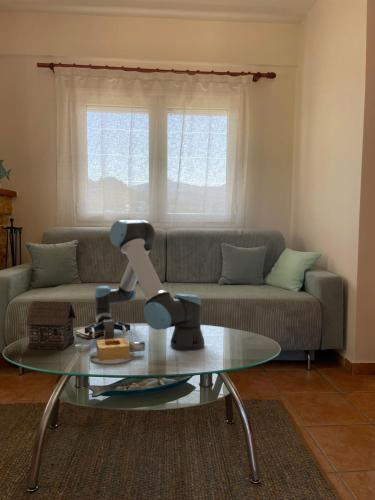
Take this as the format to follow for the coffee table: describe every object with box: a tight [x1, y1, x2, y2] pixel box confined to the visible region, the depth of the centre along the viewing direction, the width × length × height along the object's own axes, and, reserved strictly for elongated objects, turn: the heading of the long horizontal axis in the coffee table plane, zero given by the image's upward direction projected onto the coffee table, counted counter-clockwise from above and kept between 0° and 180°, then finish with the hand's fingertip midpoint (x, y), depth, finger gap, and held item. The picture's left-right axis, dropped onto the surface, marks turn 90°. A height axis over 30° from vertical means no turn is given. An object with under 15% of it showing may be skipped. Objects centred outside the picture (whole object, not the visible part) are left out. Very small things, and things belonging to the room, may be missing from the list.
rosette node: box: [89, 337, 146, 366], centre depth 173 cm, size 22×18×6 cm
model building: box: [25, 300, 77, 350], centre depth 189 cm, size 18×14×20 cm
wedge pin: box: [103, 318, 115, 339], centre depth 186 cm, size 4×4×12 cm
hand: (109, 333), depth 183 cm, fingers open, 13 cm apart
